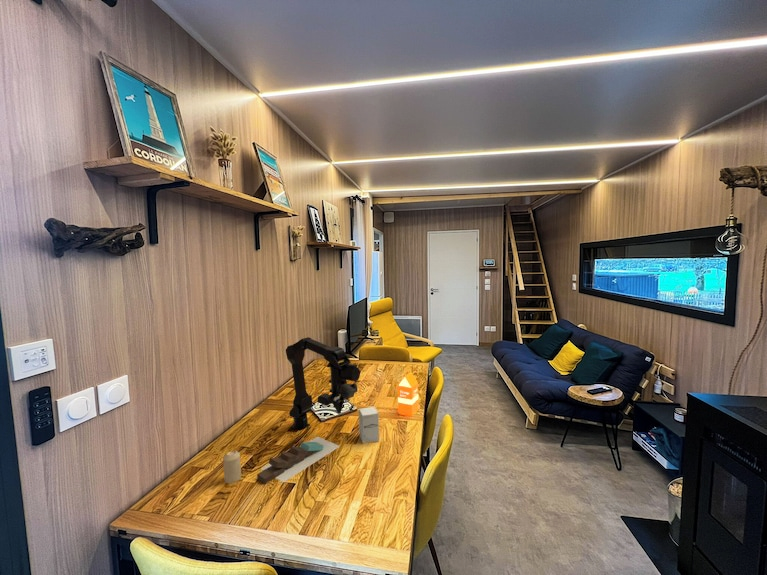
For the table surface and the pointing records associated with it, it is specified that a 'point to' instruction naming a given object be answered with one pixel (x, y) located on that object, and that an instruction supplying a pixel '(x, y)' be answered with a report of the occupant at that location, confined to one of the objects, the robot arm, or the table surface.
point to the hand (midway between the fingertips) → (339, 413)
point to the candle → (232, 467)
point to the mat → (306, 459)
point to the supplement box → (368, 425)
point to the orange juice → (408, 395)
